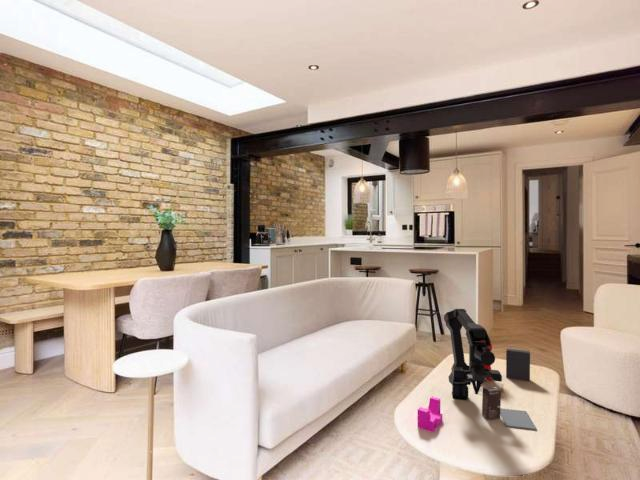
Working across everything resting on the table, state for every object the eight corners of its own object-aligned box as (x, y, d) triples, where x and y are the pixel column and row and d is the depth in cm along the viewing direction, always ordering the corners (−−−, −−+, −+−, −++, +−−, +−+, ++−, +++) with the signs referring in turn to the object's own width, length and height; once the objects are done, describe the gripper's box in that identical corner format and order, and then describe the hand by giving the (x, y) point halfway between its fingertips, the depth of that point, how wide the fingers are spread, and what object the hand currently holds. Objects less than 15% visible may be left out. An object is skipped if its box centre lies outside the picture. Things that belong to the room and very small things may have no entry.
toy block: (433, 433, 144) (433, 414, 143) (417, 428, 147) (417, 409, 147) (446, 418, 155) (446, 400, 155) (431, 413, 159) (431, 396, 159)
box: (488, 420, 153) (488, 391, 153) (481, 415, 157) (481, 386, 157) (501, 418, 154) (501, 390, 154) (494, 413, 159) (494, 385, 158)
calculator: (529, 379, 196) (529, 350, 196) (529, 382, 192) (530, 353, 192) (506, 375, 201) (506, 347, 201) (506, 378, 197) (506, 350, 197)
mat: (505, 426, 148) (505, 425, 148) (498, 409, 162) (498, 408, 162) (536, 430, 145) (536, 428, 145) (526, 412, 160) (526, 411, 160)
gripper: (454, 361, 152) (454, 399, 152) (505, 365, 147) (504, 405, 147) (452, 353, 162) (452, 388, 163) (499, 356, 157) (498, 393, 158)
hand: (476, 393), depth 157 cm, fingers closed
